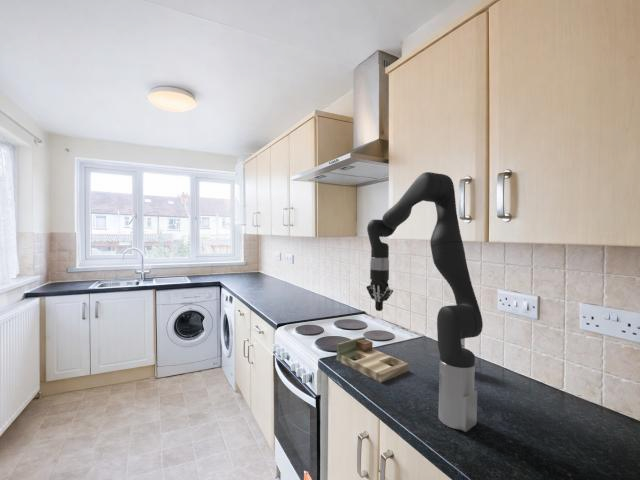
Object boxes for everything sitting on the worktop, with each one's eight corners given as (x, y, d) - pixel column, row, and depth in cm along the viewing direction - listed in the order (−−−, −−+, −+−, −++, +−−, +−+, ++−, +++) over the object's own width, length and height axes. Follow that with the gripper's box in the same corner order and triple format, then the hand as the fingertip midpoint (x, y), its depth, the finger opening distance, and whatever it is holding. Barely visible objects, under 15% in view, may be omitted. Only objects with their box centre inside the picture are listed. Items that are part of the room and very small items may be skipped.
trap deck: (408, 371, 121) (408, 353, 121) (380, 382, 112) (380, 363, 112) (363, 351, 141) (363, 336, 141) (336, 360, 131) (336, 343, 131)
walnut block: (372, 349, 135) (372, 341, 135) (364, 352, 132) (364, 344, 132) (364, 346, 139) (364, 338, 139) (356, 348, 136) (356, 340, 136)
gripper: (398, 269, 125) (397, 312, 125) (373, 266, 135) (373, 306, 136) (386, 270, 120) (385, 315, 120) (361, 267, 131) (360, 308, 131)
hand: (378, 310), depth 128 cm, fingers closed
